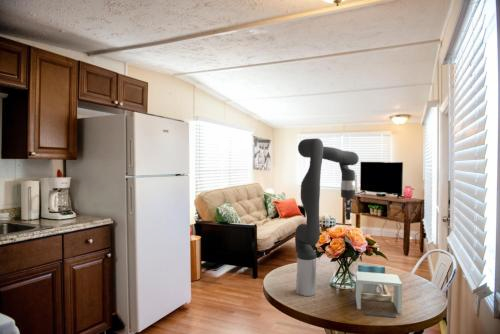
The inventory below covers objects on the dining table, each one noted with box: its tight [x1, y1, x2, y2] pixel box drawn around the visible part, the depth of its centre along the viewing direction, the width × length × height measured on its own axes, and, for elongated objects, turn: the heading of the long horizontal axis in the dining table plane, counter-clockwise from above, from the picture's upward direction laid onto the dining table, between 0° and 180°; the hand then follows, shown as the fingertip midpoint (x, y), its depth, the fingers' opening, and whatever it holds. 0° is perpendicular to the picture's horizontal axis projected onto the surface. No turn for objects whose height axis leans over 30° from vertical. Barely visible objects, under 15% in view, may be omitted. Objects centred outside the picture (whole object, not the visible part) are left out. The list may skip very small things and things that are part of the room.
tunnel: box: [355, 270, 403, 315], centre depth 152 cm, size 18×12×13 cm, turn 76°
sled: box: [357, 264, 393, 303], centre depth 169 cm, size 13×24×9 cm, turn 166°
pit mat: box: [364, 310, 397, 319], centre depth 142 cm, size 12×2×1 cm, turn 76°
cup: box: [361, 283, 384, 294], centre depth 162 cm, size 11×8×8 cm
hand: (347, 218), depth 186 cm, fingers open, 8 cm apart
